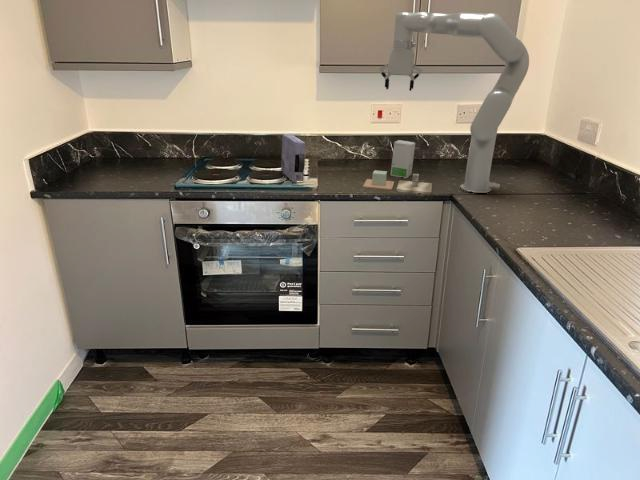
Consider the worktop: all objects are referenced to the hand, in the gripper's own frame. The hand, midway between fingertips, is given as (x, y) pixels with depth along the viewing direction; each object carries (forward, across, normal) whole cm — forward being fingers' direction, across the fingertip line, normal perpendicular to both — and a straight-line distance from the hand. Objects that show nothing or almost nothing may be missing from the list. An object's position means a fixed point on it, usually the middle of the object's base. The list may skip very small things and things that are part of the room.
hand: (398, 89), depth 207 cm
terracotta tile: (+38, +4, +12) cm, 40 cm away
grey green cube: (+38, +4, +12) cm, 40 cm away
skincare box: (+38, -4, -7) cm, 39 cm away
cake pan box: (+39, +42, +13) cm, 59 cm away
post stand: (+38, -11, +12) cm, 42 cm away
